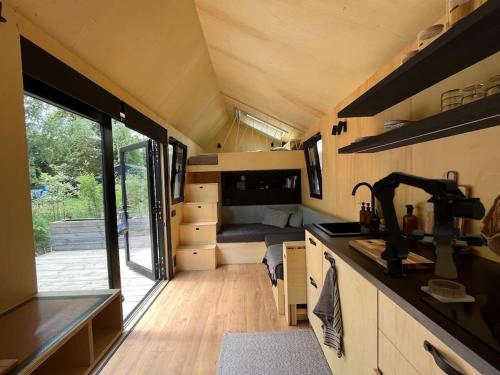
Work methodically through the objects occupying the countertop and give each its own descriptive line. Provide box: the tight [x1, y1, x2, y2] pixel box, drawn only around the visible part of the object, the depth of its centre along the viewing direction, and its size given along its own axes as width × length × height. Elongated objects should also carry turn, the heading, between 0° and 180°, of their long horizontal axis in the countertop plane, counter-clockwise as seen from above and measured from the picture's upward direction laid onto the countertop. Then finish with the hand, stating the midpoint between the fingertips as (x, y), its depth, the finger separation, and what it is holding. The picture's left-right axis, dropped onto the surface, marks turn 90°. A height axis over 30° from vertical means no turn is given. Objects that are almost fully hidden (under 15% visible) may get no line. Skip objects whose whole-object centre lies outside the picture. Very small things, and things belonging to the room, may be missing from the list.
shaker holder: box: [420, 278, 475, 303], centre depth 84 cm, size 10×10×4 cm
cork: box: [434, 242, 458, 279], centre depth 84 cm, size 6×6×11 cm
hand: (445, 262), depth 84 cm, fingers closed on cork, 4 cm apart
